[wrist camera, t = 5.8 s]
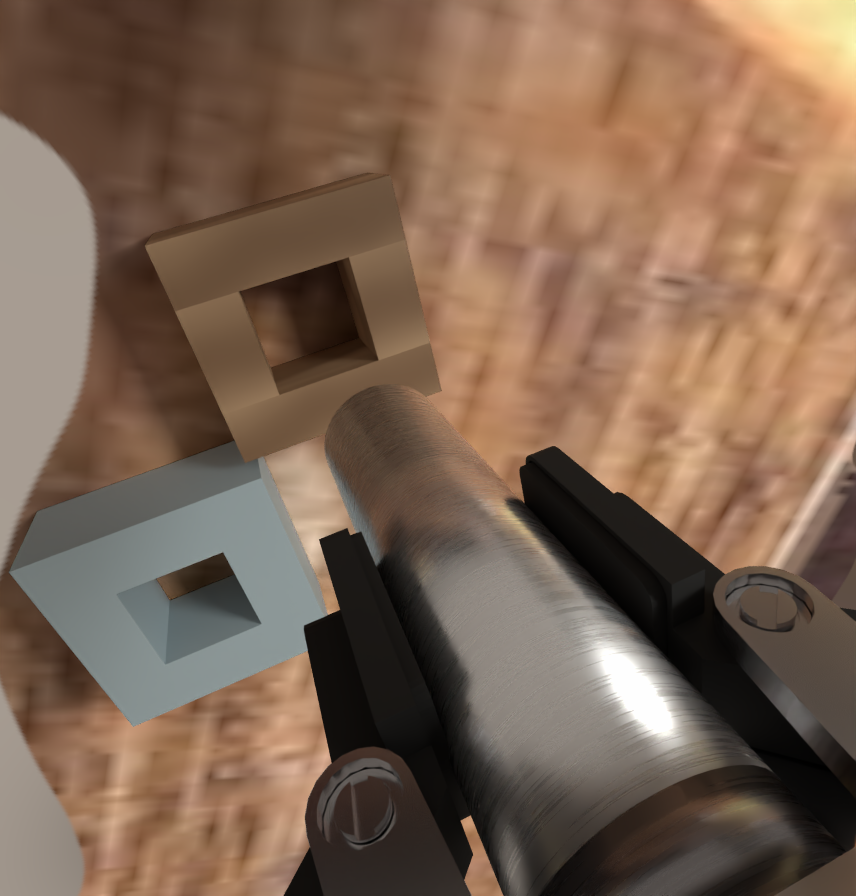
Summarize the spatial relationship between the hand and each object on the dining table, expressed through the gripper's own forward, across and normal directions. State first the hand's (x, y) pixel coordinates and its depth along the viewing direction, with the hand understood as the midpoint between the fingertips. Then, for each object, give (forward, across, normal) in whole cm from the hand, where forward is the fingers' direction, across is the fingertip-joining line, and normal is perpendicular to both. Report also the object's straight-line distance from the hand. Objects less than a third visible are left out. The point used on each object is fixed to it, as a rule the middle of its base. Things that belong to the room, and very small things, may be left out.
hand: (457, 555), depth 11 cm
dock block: (+21, +10, +11) cm, 26 cm away
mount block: (+21, 0, 0) cm, 21 cm away
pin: (+5, 0, 0) cm, 5 cm away
